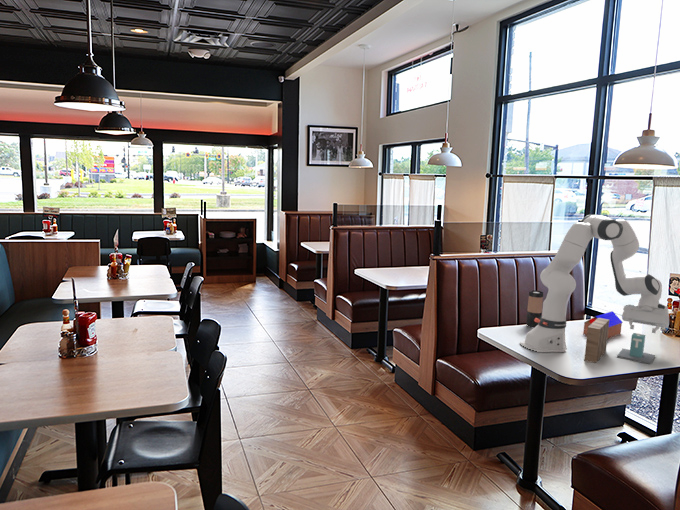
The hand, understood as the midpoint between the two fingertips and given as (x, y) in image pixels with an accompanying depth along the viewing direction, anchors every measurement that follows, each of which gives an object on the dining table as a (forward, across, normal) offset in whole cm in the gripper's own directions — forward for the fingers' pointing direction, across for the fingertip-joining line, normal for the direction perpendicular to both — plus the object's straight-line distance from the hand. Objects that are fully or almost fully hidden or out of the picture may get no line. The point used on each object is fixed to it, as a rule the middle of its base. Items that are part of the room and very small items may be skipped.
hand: (642, 330), depth 254 cm
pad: (+15, 0, +1) cm, 15 cm away
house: (-6, -21, +22) cm, 31 cm away
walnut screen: (+23, -16, -8) cm, 29 cm away
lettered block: (+14, 0, 0) cm, 14 cm away
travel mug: (+2, -55, +13) cm, 56 cm away
